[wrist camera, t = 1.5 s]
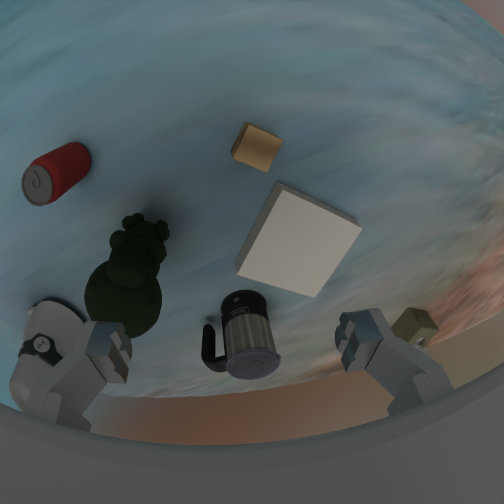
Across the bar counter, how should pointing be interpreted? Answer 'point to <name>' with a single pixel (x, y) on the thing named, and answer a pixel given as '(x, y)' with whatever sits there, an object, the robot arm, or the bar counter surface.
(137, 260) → the toy figurine
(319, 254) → the cream base
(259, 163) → the block
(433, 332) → the tissue box
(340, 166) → the bar counter surface
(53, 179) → the beer can
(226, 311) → the milk frother
